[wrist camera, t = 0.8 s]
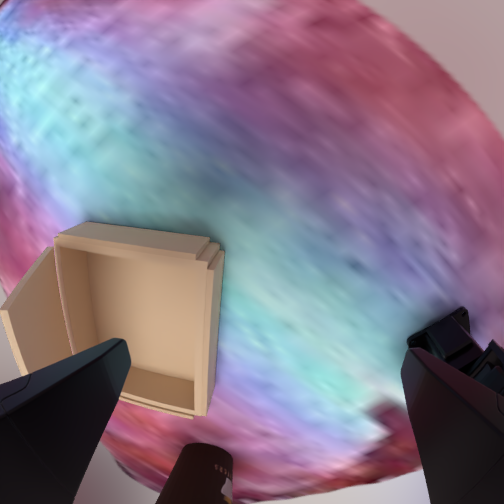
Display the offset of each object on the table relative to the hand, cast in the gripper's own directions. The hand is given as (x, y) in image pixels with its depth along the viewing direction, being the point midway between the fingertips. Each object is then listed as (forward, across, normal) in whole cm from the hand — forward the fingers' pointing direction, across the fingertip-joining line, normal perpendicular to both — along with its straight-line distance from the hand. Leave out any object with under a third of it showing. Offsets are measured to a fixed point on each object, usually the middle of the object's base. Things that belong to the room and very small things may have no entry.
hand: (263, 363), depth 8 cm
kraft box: (+13, +11, +6) cm, 18 cm away
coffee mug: (+14, +8, +29) cm, 33 cm away
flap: (+8, +16, +6) cm, 19 cm away
